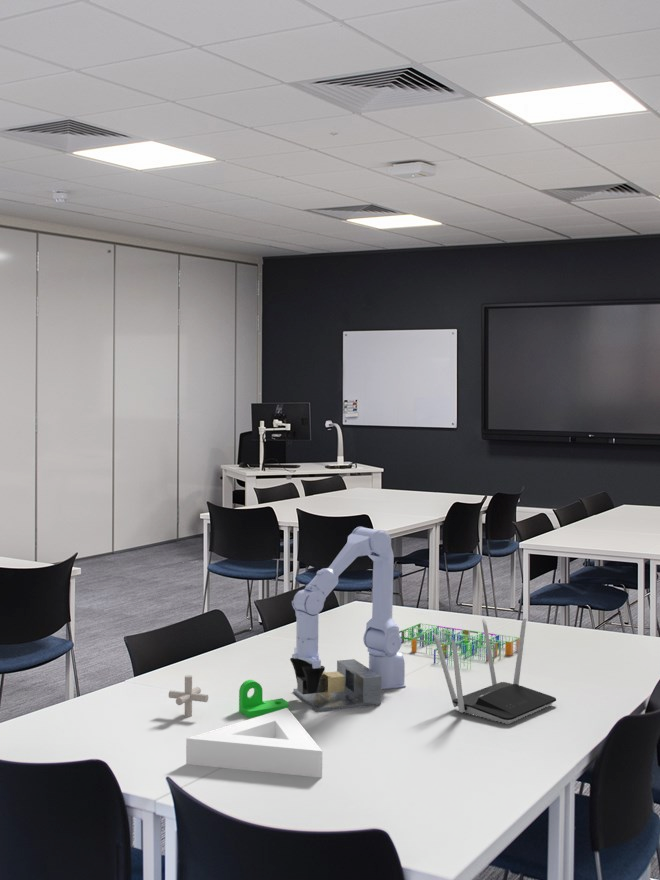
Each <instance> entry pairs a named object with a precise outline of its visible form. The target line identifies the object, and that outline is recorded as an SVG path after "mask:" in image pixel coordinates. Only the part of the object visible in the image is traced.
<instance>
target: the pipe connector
mask: <svg viewBox="0 0 660 880" xmlns="http://www.w3.org/2000/svg"><path fill="white" fill-rule="evenodd" d="M201 692H202V690H201V687H200V686H196V687H194V688H193V675H191V674H190V675H189V674H186V675H184V691H179V690H177V691H176V690H169V692H168V698H169V699H175V703H176V705H177V706H182V705H183V704H184V717H185V718H190V717H192V716H193V701H194V702H199V703H200V702H202V703H208V701H209V694H203V693H201Z"/></svg>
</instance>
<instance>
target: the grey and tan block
mask: <svg viewBox="0 0 660 880" xmlns="http://www.w3.org/2000/svg"><path fill="white" fill-rule="evenodd" d="M296 684H297V685H296V686H297V687H296V689H297V690H298V691H299V692H300V693H301V694H303V695H304V694H309V693H308V691H307V685H306V678H305V676H299V677H297V679H296ZM344 689H345V676H343V675H342V674H341V673H339V672H338V671H337V670H336V671H327V672H326V671H324V672H323V673H322V675H321V677H320V680H319V684H318V688H317V692H316V693H320V694H321V695H323V696H324V697H325V698H326V699H328V700H329V699H331V693H335V692H344ZM312 694H313V693H312Z"/></svg>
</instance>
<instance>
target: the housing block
mask: <svg viewBox="0 0 660 880" xmlns="http://www.w3.org/2000/svg"><path fill="white" fill-rule="evenodd" d="M336 662H337V663H336V671H338V672H339V673H341V674H342V675H343V676H345V689H344V692H335V693H331V699H329V700H328V699H326V698H325V697H324V696H323V695H321V694H320V693H313V694H304V695H303V694H301V693H300V692H299V691H298V690H297V688H293V693H294V694H295V695H296V696H298V698H300V699H301V700H303V702H305V703H306V704H307V705H308V706H310V707H311V708H312V709H313V710H314V711H316V712H318V713H321V712H329V711H336V710H337V711H338V710H346V709H355V708H362V707H363V708H365V707H373V705H374V706H380V705H379V704H381V705H382V689H381V676H380V675H378V674H377V673H375V672H374V671H372V670H370V669H369V667H367V666H366V665H364V664H362V663H361V662H359V661H358V660H356V659H355V658H352V659H343V660H336ZM364 706H365V707H364Z"/></svg>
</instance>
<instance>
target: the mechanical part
mask: <svg viewBox="0 0 660 880" xmlns="http://www.w3.org/2000/svg"><path fill="white" fill-rule="evenodd" d="M251 689H253V694H252V695H251V696H248V692H249V691H250V690H251ZM238 691H239V692H238V698H239V699H238V712H240V713H241V714H242V715H243V716H245V717H246V718H248V719H252V718H255V717H258V716H262V715H265V714H268V713H272V712H275V711H278V710H281V709H285V708H288V709H290V708H289V704H290V702H289V701H288V700H285V699H284V698H275V699H270V700H263V687H262V686H261V684H260V683H259V682H257V681H256V680H253V679H247V680H244V682H243V683H242V684H241V685H240V686H239V690H238Z"/></svg>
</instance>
